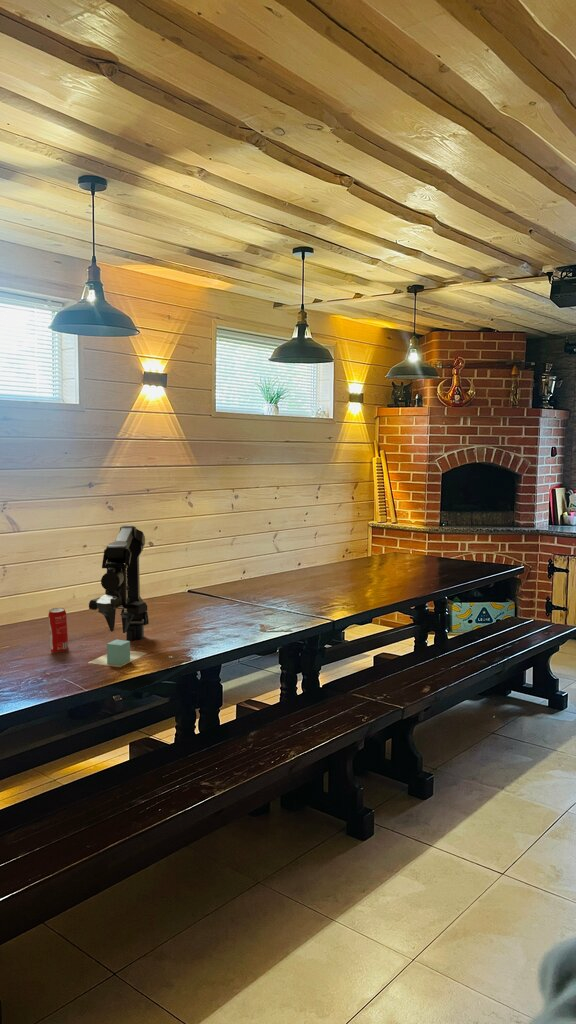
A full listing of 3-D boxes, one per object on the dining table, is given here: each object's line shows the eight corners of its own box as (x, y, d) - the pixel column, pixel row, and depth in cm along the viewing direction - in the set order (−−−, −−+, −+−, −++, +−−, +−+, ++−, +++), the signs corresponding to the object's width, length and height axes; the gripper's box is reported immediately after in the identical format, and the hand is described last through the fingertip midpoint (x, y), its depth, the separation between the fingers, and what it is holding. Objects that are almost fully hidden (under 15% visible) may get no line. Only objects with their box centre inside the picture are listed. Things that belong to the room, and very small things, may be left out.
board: (117, 651, 244) (117, 649, 243) (147, 656, 239) (147, 653, 239) (87, 665, 229) (87, 662, 229) (119, 670, 224) (119, 667, 224)
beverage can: (70, 649, 246) (69, 606, 245) (65, 655, 240) (64, 611, 238) (53, 649, 246) (51, 606, 244) (47, 655, 239) (46, 611, 238)
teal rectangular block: (116, 659, 232) (116, 639, 232) (130, 661, 231) (129, 641, 230) (107, 663, 228) (106, 643, 227) (120, 665, 226) (120, 645, 225)
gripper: (77, 586, 222) (78, 635, 224) (127, 591, 216) (128, 641, 217) (99, 580, 233) (99, 626, 234) (148, 584, 226) (148, 632, 228)
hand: (118, 632), depth 228 cm, fingers open, 4 cm apart
